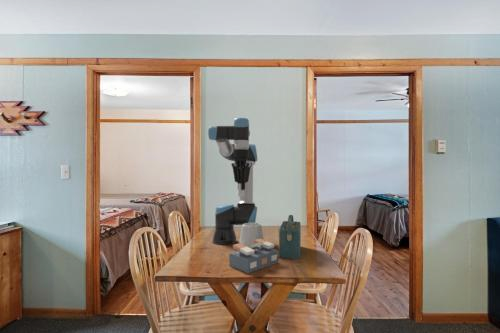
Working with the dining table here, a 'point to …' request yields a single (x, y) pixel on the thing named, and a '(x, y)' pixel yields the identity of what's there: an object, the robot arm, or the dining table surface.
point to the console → (253, 259)
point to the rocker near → (243, 249)
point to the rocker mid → (255, 245)
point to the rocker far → (266, 243)
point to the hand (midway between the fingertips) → (241, 196)
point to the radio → (290, 239)
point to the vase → (250, 233)
